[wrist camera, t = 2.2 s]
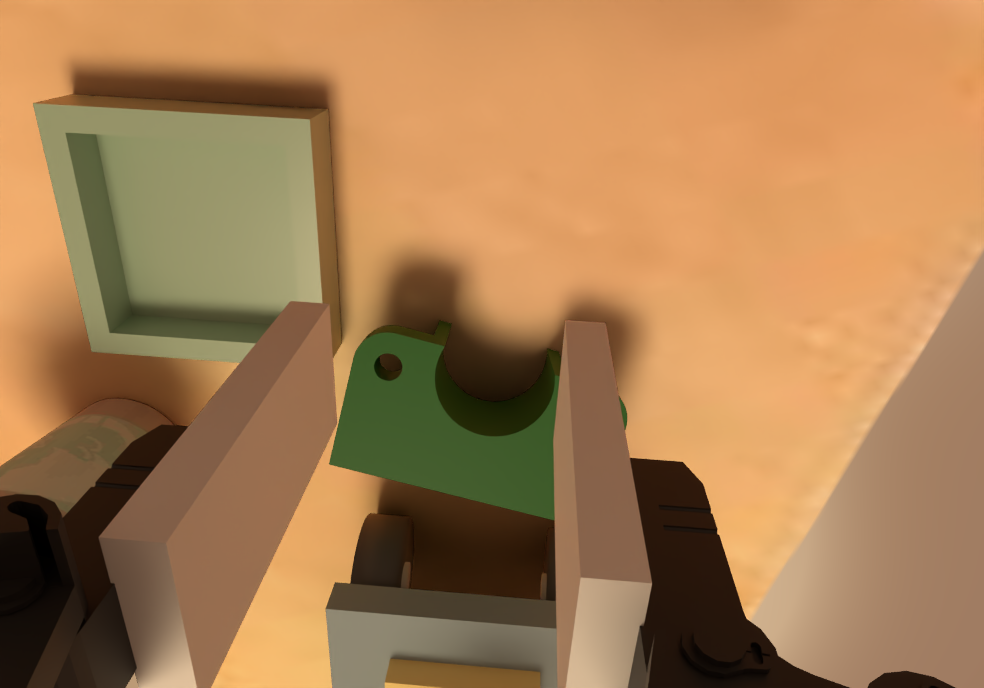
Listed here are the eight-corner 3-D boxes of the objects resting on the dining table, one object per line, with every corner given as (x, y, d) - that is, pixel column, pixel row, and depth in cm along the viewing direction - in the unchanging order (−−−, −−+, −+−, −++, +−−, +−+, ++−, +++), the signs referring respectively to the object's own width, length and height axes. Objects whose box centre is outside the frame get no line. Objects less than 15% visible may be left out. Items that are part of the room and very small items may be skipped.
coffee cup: (231, 410, 35) (92, 597, 24) (197, 532, 39) (64, 740, 28) (58, 347, 34) (-166, 513, 23) (41, 478, 38) (-159, 672, 27)
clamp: (566, 334, 37) (671, 400, 29) (534, 440, 38) (626, 530, 30) (338, 294, 32) (389, 362, 24) (311, 418, 33) (351, 521, 25)
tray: (72, 94, 29) (32, 103, 26) (328, 108, 28) (309, 119, 26) (122, 327, 33) (91, 352, 31) (341, 343, 33) (326, 369, 31)
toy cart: (365, 488, 37) (316, 623, 29) (599, 506, 36) (613, 648, 28) (373, 661, 42) (334, 813, 35) (574, 679, 42) (580, 837, 34)
